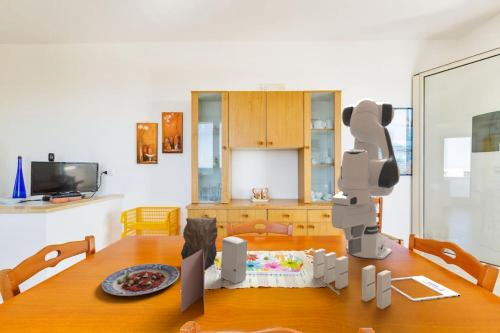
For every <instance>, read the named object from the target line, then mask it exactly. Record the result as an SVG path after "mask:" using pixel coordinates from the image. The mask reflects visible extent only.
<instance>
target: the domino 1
mask: <svg viewBox="0 0 500 333" xmlns="http://www.w3.org/2000/svg"><path fill="white" fill-rule="evenodd" d="M312 251H313V252H312V253H313V254H312V255H313V256H312V257H313V262H312V263H313V264H312V269H313V270H312V271H313V272H312V277H313V278H315V279H319V278H320V279H321V278H322V277H324V255H325V254H326V249H324V248H319V249H315V250H312Z"/></svg>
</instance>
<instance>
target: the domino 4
mask: <svg viewBox="0 0 500 333" xmlns="http://www.w3.org/2000/svg"><path fill="white" fill-rule="evenodd" d="M361 230H362V225H358V226H354V227H351V230H350V232H351V234H352V235H353V239H352V240H347V246H348V250H347V253H348V254H350V255H352V254H355V253H358V252H361Z"/></svg>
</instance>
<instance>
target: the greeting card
mask: <svg viewBox="0 0 500 333" xmlns="http://www.w3.org/2000/svg"><path fill="white" fill-rule="evenodd" d="M180 262H181V263H180V268H181V269H180V313H183V312H184V311H186V309H188V308H189V307H190V306H191V305H193V303H195V302H196V301H197V300H199V298H201V297H202V303H203V308H206V307H205V300H206V299H205V272H206V270H205V261H204V253H203V249H202V250H200V251H199V252H197V253H195V254H193V255H191V256H189V257H188V258H186V259H184V260H183V259H182V260H181V261H180Z"/></svg>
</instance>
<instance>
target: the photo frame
mask: <svg viewBox="0 0 500 333" xmlns="http://www.w3.org/2000/svg"><path fill="white" fill-rule="evenodd" d="M405 280H413V281H414V282H416V283H419V284H420V285H422V286H424V287H426V288H428V289H430V290H431V291H433V292H435V293H438V294H439V295H435V296H426V297H424V296H423V297H417V298H413V297H411V296H410V295H408V294H407V293H405V292H403V291H401V290H400V289H398V288H397V287H395V286H393V285H392V284H391V289H392V290H394V291H396V292H397V293H399V294H400V295H402V296H404V297H405V298H407V299H408V300H410V301H411V300H412V301H411V302H413V301H414V302H421V300H423V301H429V300H430V301H431V300H437V298H440V299H445V298H444V297H448V298H453V297H452V296H456V297H459V296H458V295H460V296H461V294H460V293H458V292H456V291H454V290H452V289H451V288H448V287H446V286H444V285H442V284H440V283H438V282H436V281H434V280H432V279H430V278H428V277H425V276H424V275H418V276H417V275H416V276H407V277H397V278H395V277H394V278H391V282H394V281H405Z"/></svg>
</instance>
